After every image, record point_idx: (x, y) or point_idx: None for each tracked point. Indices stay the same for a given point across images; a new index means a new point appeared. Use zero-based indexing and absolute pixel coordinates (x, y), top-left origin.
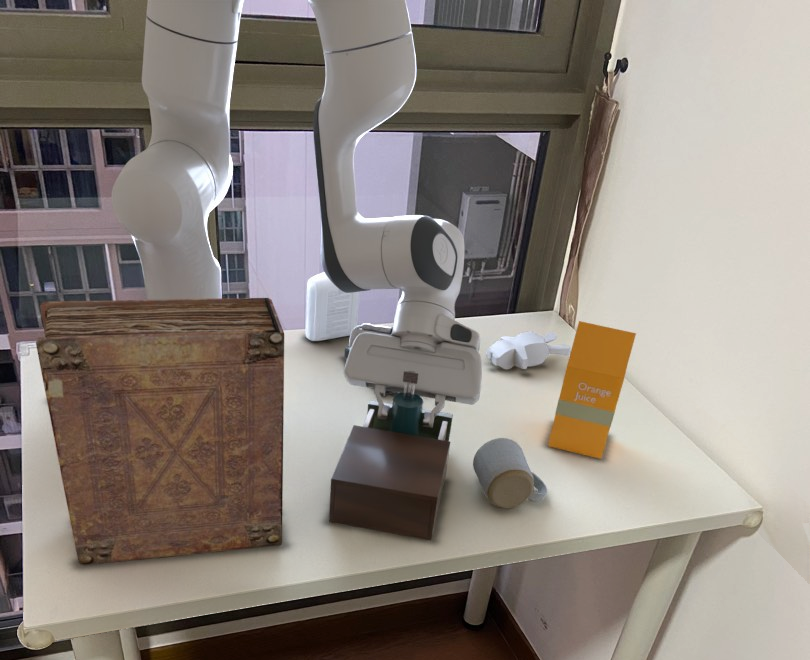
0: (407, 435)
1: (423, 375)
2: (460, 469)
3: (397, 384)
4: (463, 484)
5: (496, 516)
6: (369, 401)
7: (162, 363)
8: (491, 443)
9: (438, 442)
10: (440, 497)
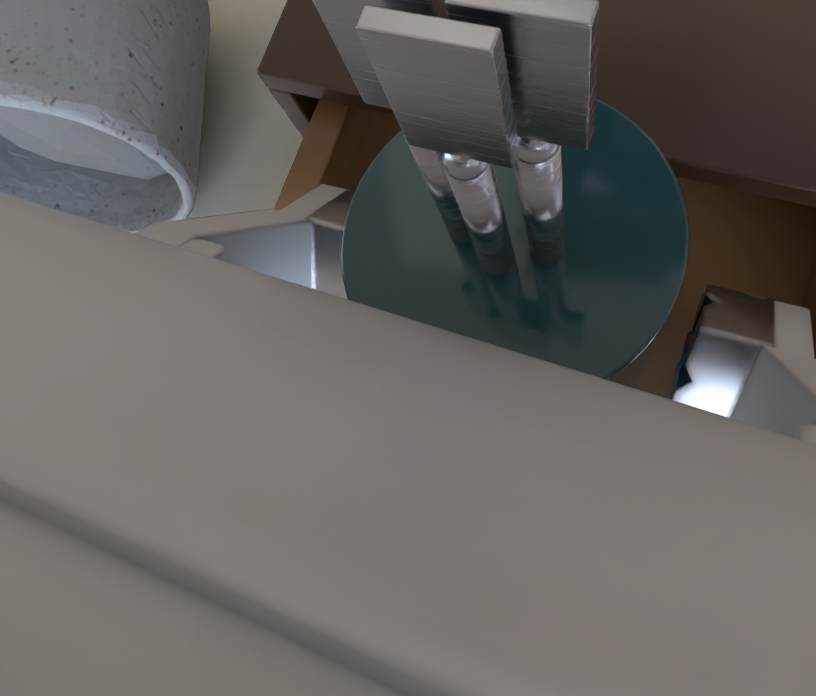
0: None
1: (209, 375)
2: None
3: (626, 388)
4: (273, 203)
5: (210, 3)
6: None
7: None
8: (22, 69)
9: (337, 53)
10: None
